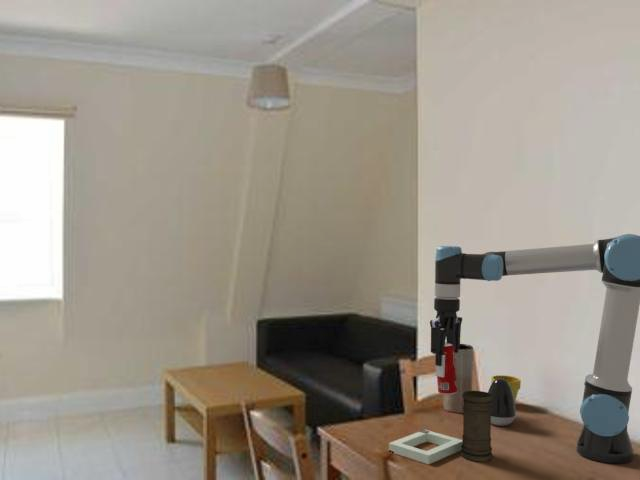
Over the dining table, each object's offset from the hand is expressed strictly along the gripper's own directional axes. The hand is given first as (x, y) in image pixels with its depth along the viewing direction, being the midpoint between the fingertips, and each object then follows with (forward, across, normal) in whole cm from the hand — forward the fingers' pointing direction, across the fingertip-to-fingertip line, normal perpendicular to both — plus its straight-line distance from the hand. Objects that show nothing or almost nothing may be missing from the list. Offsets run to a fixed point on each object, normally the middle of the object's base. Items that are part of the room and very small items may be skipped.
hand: (444, 374), depth 199 cm
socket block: (+21, +8, 0) cm, 23 cm away
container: (+21, +1, +12) cm, 25 cm away
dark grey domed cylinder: (+21, -32, +1) cm, 38 cm away
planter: (+21, -35, -18) cm, 45 cm away
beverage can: (+6, -2, 0) cm, 6 cm away
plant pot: (+21, -53, -10) cm, 58 cm away
